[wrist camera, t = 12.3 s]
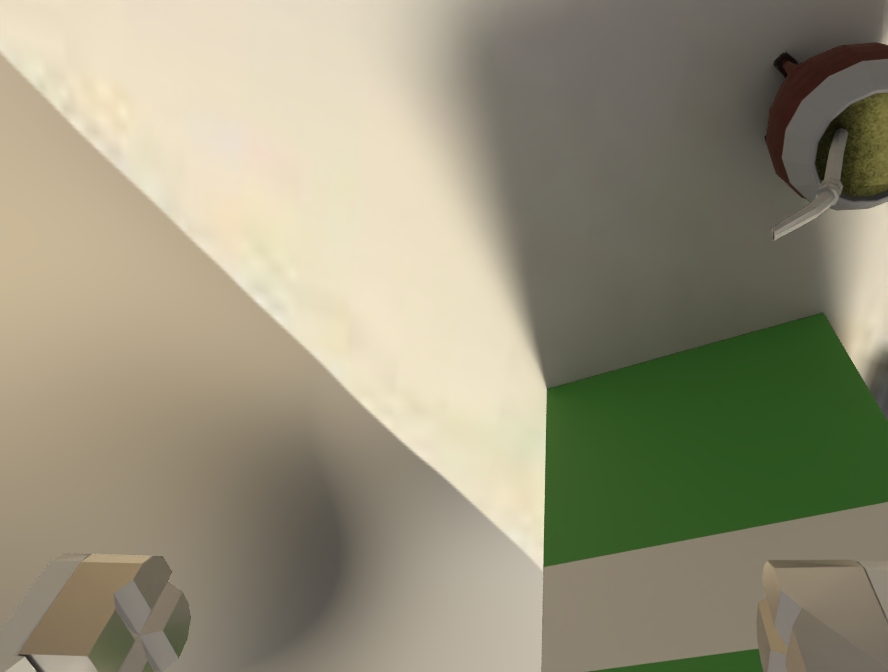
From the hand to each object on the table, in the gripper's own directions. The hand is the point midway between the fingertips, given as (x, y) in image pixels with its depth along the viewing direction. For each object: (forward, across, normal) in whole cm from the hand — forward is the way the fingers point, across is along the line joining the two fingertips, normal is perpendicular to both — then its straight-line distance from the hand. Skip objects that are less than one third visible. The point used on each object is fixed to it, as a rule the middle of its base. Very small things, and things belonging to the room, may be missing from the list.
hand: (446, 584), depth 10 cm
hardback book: (+33, -9, +23) cm, 42 cm away
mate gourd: (+33, -14, +4) cm, 36 cm away
